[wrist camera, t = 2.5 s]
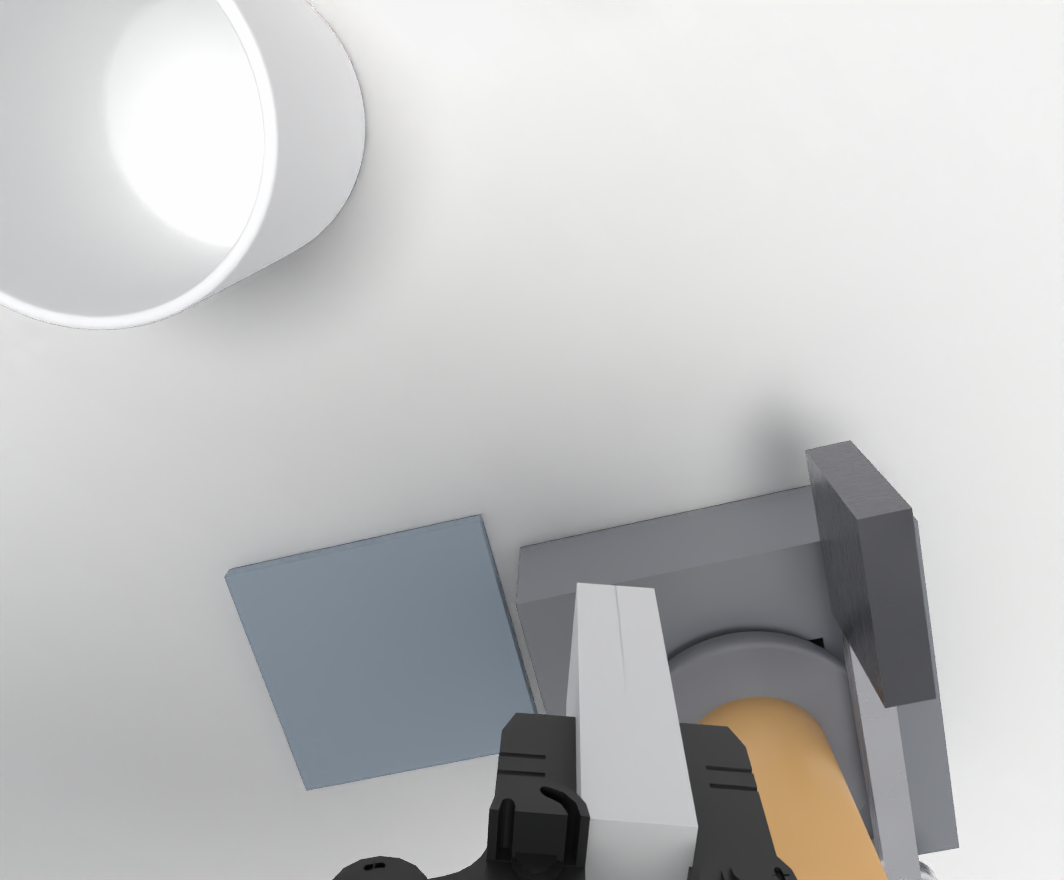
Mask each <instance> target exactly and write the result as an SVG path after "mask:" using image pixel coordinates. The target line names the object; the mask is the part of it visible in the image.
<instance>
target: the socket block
mask: <svg viewBox="0 0 1064 880" xmlns="http://www.w3.org/2000/svg"><path fill="white" fill-rule="evenodd" d="M913 521H914V528H915V536H916V544H917V552H918V559H919V567H920V575H921V583H922V590H923V598H924V606H925V614H926V621H927V629H928V637H929V645H930V652H931V660H932V668H933V676H934V683H935V691H936V699H932V700H927V701H921V702H916V703H911V704H906V705H900V706H897V713H898V720H899V727H900V734H901V741H902V748H903V755H904V762H905V769H906V776H907V782H908V789H909V796H910V803H911V810H912V817H913V824H914V831H915V838H916V845H917V852H918V855H921V854H926V853H932V852H938V851H944V850H949V849H955V848H959V843H958V835H957V827H956V819H955V812H954V804H953V796H952V788H951V780H950V772H949V765H948V757H947V749H946V741H945V733H944V725H943V717H942V710H941V702H940V694H939V686H938V678H937V670H936V663H935V655H934V647H933V639H932V631H931V623H930V616H929V608H928V600H927V592H926V584H925V576H924V568H923V561H922V553H921V545H920V537H919V529H918V521H917V520H916V519H915V517H914V516H913ZM577 583H589V584H603V585H616V586H629V587H643V588H654V590H655V595H656V601H657V606H658V612H659V617H660V623H661V628H662V633H663V639H664V644H665V650H666V655H667V661H669V660H670V659H672V658H673V657H675V656H676V655H678V654H679V653H681V652H682V651H684V650H686V649H688V648H690V647H692V646H694V645H695V644H698V643H700V642H703V641H706V640H708V639H711V638H714V637H718V636H722V635H726V634H731V633H738V632H750V631H764V632H776V633H782V634H786V635H791V636H795V637H798V638H801V639H804V640H807V641H809V642H812V643H814V644H816V645H818V646H820V647H822V648H824V649H825V650H827V651H828V652H830V653H831V654H833V655H834V656H836V657H837V658H838V659H839V660H840V661H841V662H842V663H843V664H845V665H846V661H845V655H844V649H843V643H842V637H841V630H840V626H839V625H838V623H837V621H836V619H835V617H834V616H833V614H832V611H831V605H830V598H829V592H828V586H827V580H826V574H825V568H824V562H823V556H822V550H821V543H820V537H819V531H818V525H817V519H816V513H815V507H814V501H813V495H812V489H811V485H810V486H805V487H801V488H796V489H791V490H787V491H782V492H777V493H773V494H768V495H763V496H759V497H754V498H749V499H745V500H740V501H735V502H731V503H726V504H721V505H717V506H712V507H707V508H703V509H698V510H693V511H689V512H684V513H679V514H675V515H670V516H665V517H661V518H656V519H651V520H647V521H642V522H637V523H633V524H628V525H623V526H619V527H614V528H610V529H605V530H600V531H596V532H591V533H586V534H582V535H577V536H572V537H568V538H563V539H558V540H554V541H549V542H544V543H540V544H535V545H530V546H526V547H521V548H520V557H519V570H518V582H517V595H516V607H517V611H518V614H519V618H520V621H521V625H522V628H523V632H524V636H525V639H526V643H527V646H528V650H529V653H530V657H531V661H532V664H533V668H534V671H535V675H536V678H537V682H538V685H539V689H540V693H541V696H542V700H543V703H544V707H545V710H546V714H547V715H556V716H566V700H567V689H568V678H569V667H570V655H571V644H572V633H573V622H574V610H575V599H576V588H577ZM859 814H860V816H861V818H862V820H863V823H864V825H865V827H866V830H867V832H868V834H869V836H870V839H871V841H872V843H873V846H874V848H875V850H876V847H875V841H874V835H873V828H872V822H871V816H870V810H869V804H868V800H867V802H866V803H865V805H864V806H863V807H862V809H861V810H860V811H859Z"/></svg>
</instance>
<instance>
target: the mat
mask: <svg viewBox="0 0 1064 880" xmlns="http://www.w3.org/2000/svg"><path fill="white" fill-rule="evenodd" d="M224 578H225V580H226V583H227V585H228V588H229V591H230V593H231V596H232V598H233V601H234V604H235V606H236V609H237V611H238V614H239V617H240V619H241V622H242V624H243V627H244V630H245V632H246V635H247V637H248V640H249V643H250V645H251V648H252V650H253V653H254V656H255V658H256V661H257V663H258V666H259V668H260V671H261V674H262V676H263V679H264V681H265V684H266V687H267V689H268V692H269V694H270V697H271V700H272V702H273V705H274V707H275V710H276V713H277V715H278V718H279V720H280V723H281V726H282V728H283V731H284V733H285V736H286V739H287V741H288V744H289V746H290V749H291V752H292V754H293V757H294V759H295V762H296V765H297V767H298V770H299V772H300V775H301V778H302V780H303V783H304V785H305V788H306V790H312V789H318V788H323V787H328V786H333V785H338V784H343V783H349V782H354V781H359V780H364V779H369V778H374V777H380V776H385V775H390V774H395V773H400V772H405V771H411V770H416V769H421V768H426V767H431V766H436V765H442V764H447V763H452V762H457V761H462V760H467V759H473V758H478V757H483V756H488V755H493V754H498V753H499V752H500V742H501V733H502V729H503V728H504V727H505V726H506V725H507V723H508V722H509V721H510V720H511V718H512V717H513V716H514V715H515V713H516V712H517V713H530V714H537V711H536V707H535V704H534V700H533V697H532V693H531V690H530V686H529V683H528V679H527V676H526V672H525V668H524V665H523V661H522V658H521V654H520V651H519V647H518V644H517V640H516V637H515V633H514V630H513V626H512V623H511V619H510V616H509V612H508V609H507V605H506V602H505V598H504V595H503V591H502V588H501V584H500V581H499V577H498V574H497V570H496V566H495V563H494V559H493V556H492V552H491V549H490V545H489V542H488V538H487V535H486V531H485V528H484V524H483V521H482V517H481V514H480V515H476V516H471V517H467V518H462V519H458V520H453V521H448V522H444V523H439V524H435V525H430V526H426V527H421V528H417V529H412V530H407V531H403V532H398V533H394V534H389V535H385V536H380V537H375V538H371V539H366V540H362V541H357V542H353V543H348V544H343V545H339V546H334V547H330V548H325V549H321V550H316V551H311V552H307V553H302V554H298V555H293V556H289V557H284V558H279V559H275V560H270V561H266V562H261V563H257V564H252V565H248V566H243V567H238V568H234V569H230V570H229V571H228V573H227V574H226V576H225V577H224Z"/></svg>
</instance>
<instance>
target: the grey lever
mask: <svg viewBox="0 0 1064 880" xmlns="http://www.w3.org/2000/svg"><path fill="white" fill-rule="evenodd" d="M805 452H806V458H807V464H808V470H809V476H810V482H811V489H812V495H813V501H814V507H815V513H816V519H817V525H818V531H819V537H820V543H821V550H822V556H823V562H824V568H825V574H826V580H827V586H828V592H829V598H830V605H831V611H832V614H833V616H834V617H835V619H836V621H837V623H838V625H839V626H840V630H841V637H842V643H843V649H844V655H845V661H846V668H847V674H848V680H849V686H850V692H851V698H852V705H853V711H854V717H855V723H856V729H857V736H858V742H859V748H860V754H861V760H862V767H863V773H864V779H865V785H866V791H867V798H868V804H869V810H870V816H871V822H872V828H873V835H874V841H875V847H876V853H877V855H878V857H879V859H880V862H881V864H882V866H883V869H884V871H885V873H886V875H887V878H888V880H937V878H936V876H935V874H934V873H933V871H932V870H931V869H930V868H929V867H928V866H927V865H925V864H924V863H922V862H920V861H919V858H918V852H917V845H916V838H915V831H914V824H913V817H912V810H911V803H910V796H909V789H908V782H907V776H906V769H905V762H904V755H903V748H902V741H901V734H900V727H899V720H898V713H897V706H900V705H906V704H911V703H916V702H921V701H927V700H932V699H936V691H935V683H934V676H933V668H932V660H931V652H930V645H929V637H928V629H927V621H926V614H925V606H924V598H923V590H922V583H921V575H920V567H919V559H918V552H917V544H916V536H915V528H914V521H913V513H912V508H911V507H910V505H909V504H908V503H907V502H906V501H905V500H904V499H903V498H902V497H901V496H900V494H899V493H898V492H897V491H896V490H895V489H894V488H893V487H892V486H891V485H890V483H889V482H888V481H887V480H886V479H885V478H884V477H883V476H882V475H881V474H880V472H879V471H878V470H877V469H876V468H875V467H874V466H873V465H872V464H871V463H870V461H869V460H868V459H867V458H866V457H865V456H864V455H863V454H862V453H861V452H860V451H859V449H858V448H857V447H856V446H855V445H854V444H853V443H852V442H851V441H846V442H841V443H837V444H832V445H828V446H823V447H818V448H814V449H809V450H805Z"/></svg>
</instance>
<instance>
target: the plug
mask: <svg viewBox="0 0 1064 880" xmlns="http://www.w3.org/2000/svg"><path fill="white" fill-rule="evenodd" d="M668 666H669V671H670V677H671V682H672V688H673V693H674V699H675V704H676V709H677V715H678V720H679V723H689V724H703V725H716V726H728V727H729V728H730V729H731V731H732V732H733V733H734V734H735V735H736V736H737V737H738V739H739V740H740V741H741V742H742V743H743V744H744V745H745V746H746V749H747V753H748V756H749V760H750V763H751V767H752V773H753V774H754V777H755V781H756V784H757V792H759V795H760V798H761V802H762V806H763V809H764V813H765V816H766V820H767V823H768V827H769V830H770V834H771V837H772V841H773V844H774V848H775V851H776V855H777V857H779V858H780V859H781V860H782V861H783V862H784V863H785V864H786V865H788V866H789V867H790V868H791V869H792V871H793V872H794V874H795V876H796V878H797V880H888V878H887V875H886V873H885V871H884V869H883V866H882V864H881V862H880V859H879V857H878V855H877V853H876V850H875V848H874V846H873V843H872V841H871V839H870V836H869V834H868V832H867V830H866V827H865V825H864V823H863V820H862V818H861V816H860V814H859V811H860V810H861V809H862V807H863V806H864V805H865V803H866V802H867V800H868V798H867V791H866V785H865V779H864V773H863V767H862V760H861V754H860V748H859V742H858V736H857V729H856V723H855V717H854V711H853V705H852V698H851V692H850V686H849V680H848V674H847V668H846V665H845V664H843V663H842V662H841V661H840V660H839V659H838V658H837V657H836V656H834V655H833V654H831V653H830V652H828V651H827V650H825V649H824V648H822V647H820V646H818V645H816V644H814V643H812V642H809V641H807V640H804V639H801V638H798V637H795V636H791V635H786V634H782V633H776V632H764V631H750V632H738V633H731V634H726V635H722V636H718V637H714V638H711V639H708V640H706V641H703V642H700V643H698V644H695V645H694V646H692V647H690V648H688V649H686V650H684V651H682V652H681V653H679V654H678V655H676V656H675V657H673V658H672V659H670V660H669V661H668Z"/></svg>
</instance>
